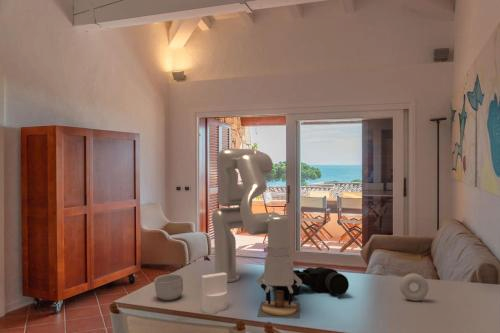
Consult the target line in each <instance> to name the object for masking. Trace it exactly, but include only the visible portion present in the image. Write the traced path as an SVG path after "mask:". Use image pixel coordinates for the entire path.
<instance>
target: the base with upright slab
mask: <svg viewBox="0 0 500 333" xmlns="http://www.w3.org/2000/svg"><path fill="white" fill-rule="evenodd" d="M227 308H228V282H227V274H226V273H224V272H223V273H216V274H215V273H211V274H205V275H204V274H203V275H201V310H202V312H204V313H206V314H213V315H214V314H218V312H219V311H220V312H221V311H223V310H225V309H227Z"/></svg>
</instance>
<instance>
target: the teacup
mask: <svg viewBox="0 0 500 333" xmlns="http://www.w3.org/2000/svg"><path fill="white" fill-rule="evenodd" d="M183 278H184V276H183V275H182V274H179V273H175V272H170V273H168V274H162V275H159V276H157V277H156V278H154V279H153V280H154V289H155V290H154V291H155V294H156V296H157V298H159V299H160V300H162V301H173V300H176V299H177V298H179V297H180V296H181V295H182V293H183V291H184V283H183V281H184V280H183Z"/></svg>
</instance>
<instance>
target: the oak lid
mask: <svg viewBox="0 0 500 333" xmlns="http://www.w3.org/2000/svg"><path fill="white" fill-rule="evenodd" d="M265 302H266V303H264V304H263V305H262V311H263V312H264V313H266V314H268V315H272V316H289V315H292V314H295V313H296V312H297V305H296V304H294V303H295V302H291V305H288V300H284V291H282V290H277V291H275V292H274V300H271V302H270V304H268V301H265Z"/></svg>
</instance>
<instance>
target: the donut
mask: <svg viewBox="0 0 500 333" xmlns="http://www.w3.org/2000/svg"><path fill="white" fill-rule="evenodd" d="M399 283H400V284H399V289H400V293H401V294H402V296H404V298H406V299H408V300H409V301H412V302H413V301H414V302H419V301H421V300H423V299H424V298H426V297H427V295H428V293H429V288H430V287H429V284H428V281H427V280H426V279H425V278H424V276H422V275H420V274H419V273H413V272H412V273H408V274H406V275H404V276H403V277H402V278H401V280H400V282H399ZM412 284H416V285H418V289H417V290H415V291H414V290H412V289H410V288H411V287H410V286H411V285H412Z"/></svg>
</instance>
